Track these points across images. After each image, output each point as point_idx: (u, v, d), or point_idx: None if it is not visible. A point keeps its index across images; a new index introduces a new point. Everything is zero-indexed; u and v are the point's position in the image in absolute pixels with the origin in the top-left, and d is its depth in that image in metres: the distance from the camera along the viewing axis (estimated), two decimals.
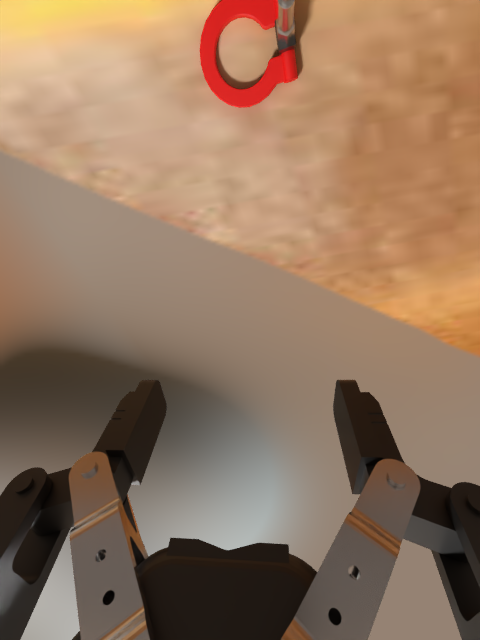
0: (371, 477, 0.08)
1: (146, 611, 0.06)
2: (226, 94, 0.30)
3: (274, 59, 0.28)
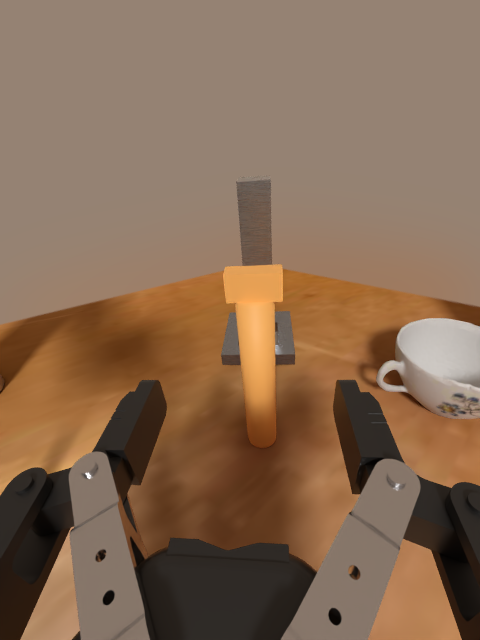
0: (371, 477, 0.08)
1: (146, 611, 0.06)
2: None
3: None
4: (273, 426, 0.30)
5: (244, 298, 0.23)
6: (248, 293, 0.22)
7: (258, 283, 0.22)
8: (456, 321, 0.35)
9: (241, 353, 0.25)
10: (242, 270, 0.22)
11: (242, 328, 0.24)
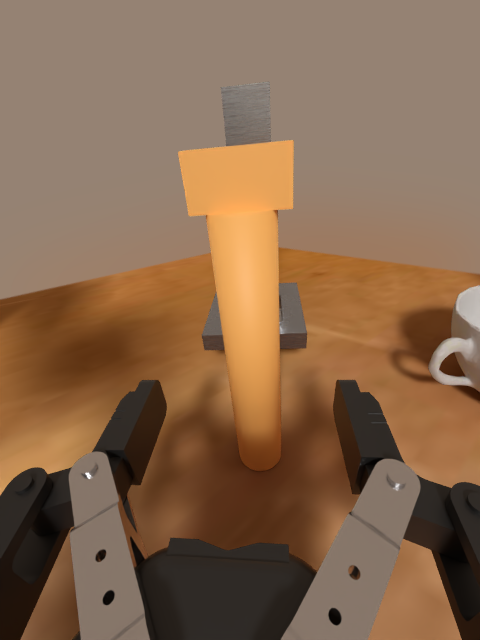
0: (371, 477, 0.08)
1: (146, 611, 0.06)
2: None
3: None
4: (277, 439, 0.20)
5: (221, 204, 0.12)
6: (228, 192, 0.12)
7: (246, 168, 0.11)
8: None
9: (222, 316, 0.15)
10: (216, 147, 0.12)
11: (220, 266, 0.13)
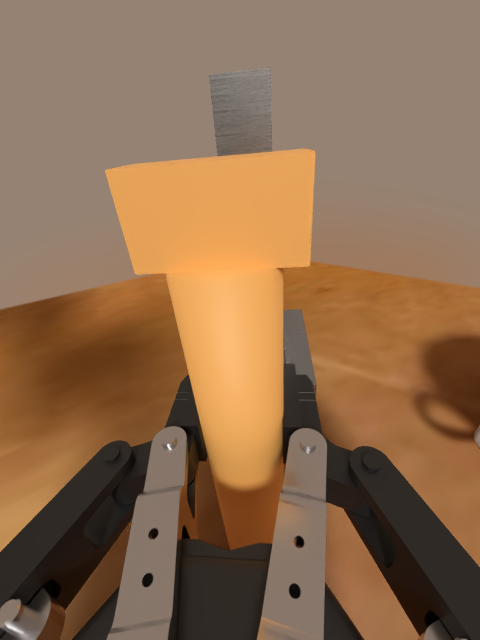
0: (289, 451, 0.09)
1: (174, 615, 0.06)
2: None
3: None
4: None
5: (188, 257, 0.07)
6: (199, 239, 0.07)
7: (229, 200, 0.06)
8: None
9: (198, 409, 0.10)
10: (177, 161, 0.07)
11: (190, 350, 0.08)
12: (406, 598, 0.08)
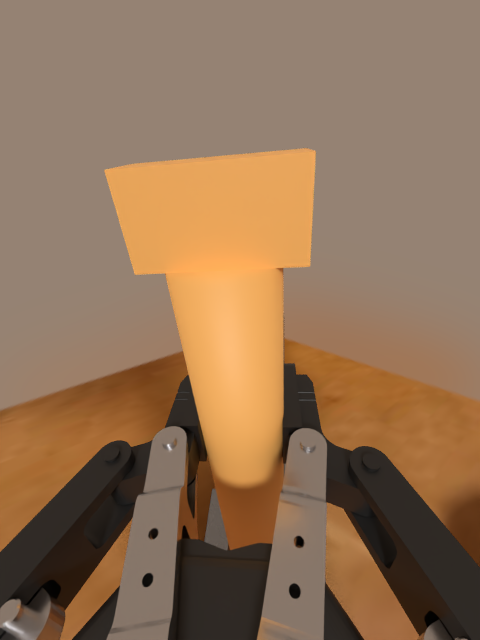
0: (289, 451, 0.09)
1: (174, 615, 0.06)
2: None
3: None
4: None
5: (188, 257, 0.07)
6: (198, 239, 0.07)
7: (229, 200, 0.06)
8: None
9: (198, 410, 0.10)
10: (177, 161, 0.07)
11: (190, 351, 0.08)
12: (406, 598, 0.08)
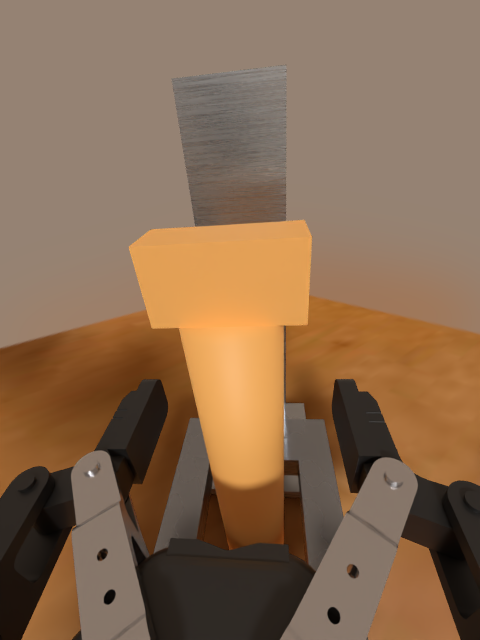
0: (369, 476, 0.08)
1: (147, 611, 0.06)
2: None
3: None
4: None
5: (199, 316, 0.08)
6: (209, 302, 0.08)
7: (236, 272, 0.07)
8: None
9: (205, 440, 0.11)
10: (191, 235, 0.08)
11: (199, 393, 0.09)
12: None
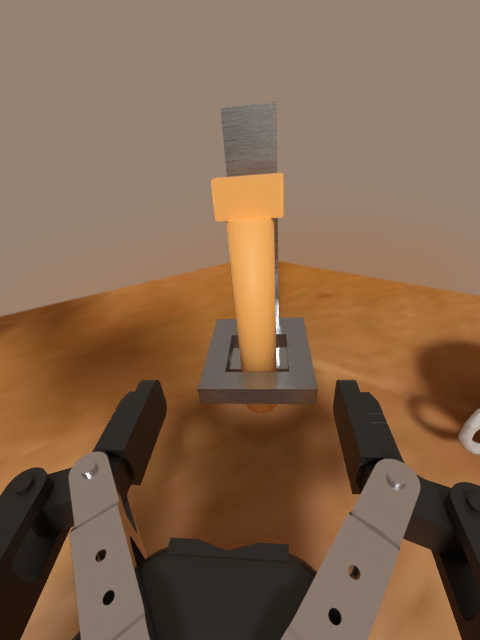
0: (371, 477, 0.08)
1: (146, 611, 0.06)
2: None
3: None
4: None
5: (237, 214, 0.19)
6: (242, 206, 0.18)
7: (254, 192, 0.18)
8: None
9: (235, 290, 0.22)
10: (234, 177, 0.18)
11: (235, 254, 0.20)
12: None
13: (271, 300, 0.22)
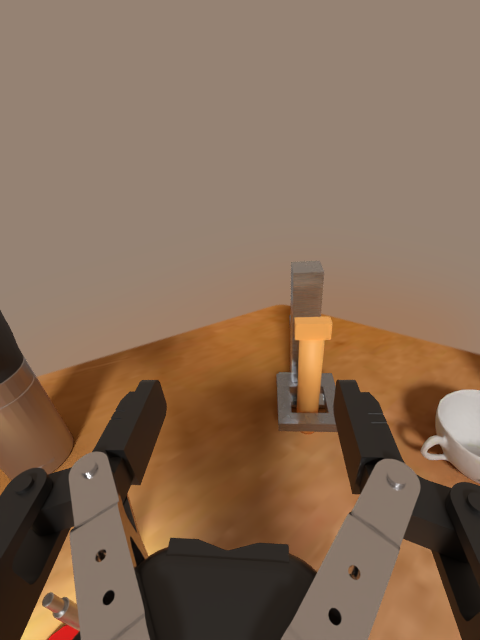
0: (371, 477, 0.08)
1: (146, 611, 0.06)
2: None
3: None
4: None
5: (306, 337, 0.36)
6: (309, 334, 0.36)
7: (316, 329, 0.36)
8: None
9: (300, 370, 0.39)
10: (306, 320, 0.36)
11: (304, 355, 0.38)
12: None
13: (320, 375, 0.39)
